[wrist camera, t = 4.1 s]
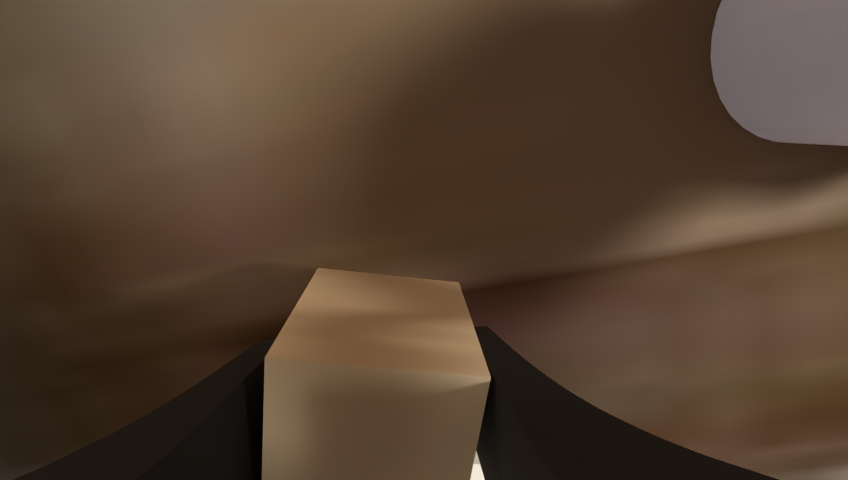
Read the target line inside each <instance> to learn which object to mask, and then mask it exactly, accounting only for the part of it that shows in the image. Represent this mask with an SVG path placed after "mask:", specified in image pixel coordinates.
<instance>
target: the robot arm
mask: <svg viewBox="0 0 848 480" xmlns="http://www.w3.org/2000/svg"><path fill="white" fill-rule="evenodd" d="M711 66H712V73H713V80H714V83H715V86H716V89H717V92H718V95H719V97H720V100H721V101H722V103H723V105H724V106H725V108H726V109H727V111H728V113H729V114H730V115H731V116H732V117H733V118H734V119H735V120H736V121H737V122H738V123H739V124H740V125H741V126H742V127H743V128H744V129H746V130H748V131H749V132H751V133H753V134H754V135H756V136H758V137H761V138H764V139H767V140H771V141H774V142H784V143H800V144H820V145H840V146H848V0H721V3H720V6H719V8H718V11H717V14H716V19H715V23H714V28H713V32H712V40H711ZM474 329H475V332H476V334H477V337H478V340H479V343H480V346H481V349H482V352H483V355H484V358H485V361H486V364H487V367H488V370H489V373H490V376H491V380H490V385H489V390H488V394H487V399H486V404H485V409H484V414H483V419H482V424H481V429H480V434H479V439H478V444H477V449H476V451H477V455H478V458H479V462H480V465H481V469H482V472H483V475H484V479H485V480H778V479H775V478H772V477H769V476H766V475H763V474H760V473H757V472H754V471H751V470H748V469H745V468H741V467H738V466H735V465H732V464H729V463H726V462H723V461H720V460H717V459H714V458H711V457H708V456H705V455H702V454H700V453H697V452H694V451H692V450H689V449H687V448H684V447H682V446H679V445H677V444H674V443H672V442H669V441H666V440H664V439H662V438H659V437H657V436H655V435H652V434H650V433H648V432H645V431H643V430H641V429H639V428H637V427H635V426H633V425H631V424H628V423H626V422H624V421H622V420H620V419H618V418H616V417H614V416H612V415H610V414H608V413H606V412H604V411H602V410H601V409H599V408H597V407H595V406H593V405H592V404H590V403H588V402H587V401H585V400H583V399H581V398H580V397H578V396H576V395H575V394H573V393H571V392H570V391H568V390H567V389H565V388H563V387H562V386H560V385H559V384H557V383H556V382H555V381H553V380H552V379H550V378H549V377H548V376H546V375H545V374H543V373H542V372H541V371H539V370H538V369H537V368H535V367H534V366H533V365H531V364H530V363H529V362H528V361H526V360H525V359H524V358H523V357H521V356H520V355H519V354H518V353H517V352H515V351H514V350H513V349H512V348H511V347H510V346H508V345H507V344H506V343H505V342H504V341H503V340H502V339H501V338H499V337H498V336H497V335H496V334H495V333H494V332H493V331H492V330H491V329H489V328H488V327H487V326H481V327H474ZM275 340H276V338H269V339H264V340H262V341H260V342H259V343H257V344H255V345H254V346H252V347H251V348H249V349H248V350H246V351H245V352H243V353H242V354H240V355H239V356H238V357H236V358H235V359H233V360H232V361H230V362H229V363H227V364H226V365H225V366H223V367H222V368H220V369H219V370H217V371H216V372H214V373H213V374H211V375H210V376H209V377H207V378H206V379H204V380H203V381H201V382H200V383H198V384H196V385H195V386H193V387H192V388H190V389H189V390H187V391H185V392H184V393H182V394H181V395H179V396H178V397H176V398H174V399H173V400H171V401H170V402H168V403H167V404H165V405H163V406H162V407H160V408H158V409H157V410H155V411H153V412H151V413H150V414H148V415H146V416H144V417H143V418H141V419H139V420H137V421H135V422H134V423H132V424H130V425H128V426H126V427H124V428H122V429H121V430H119V431H117V432H115V433H113V434H111V435H109V436H107V437H105V438H103V439H101V440H99V441H97V442H95V443H93V444H91V445H89V446H87V447H84V448H82V449H80V450H78V451H76V452H74V453H72V454H70V455H67V456H65V457H63V458H61V459H59V460H57V461H55V462H53V463H50V464H48V465H46V466H44V467H42V468H39V469H37V470H35V471H32V472H30V473H28V474H25V475H23V476H21V477H18V478H16V479H13V480H262V445H263V405H264V365H265V356H266V355H267V353H268V351H269V350H270V348H271V346H272V345H273V343H274V341H275Z"/></svg>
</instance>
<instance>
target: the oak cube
mask: <svg viewBox="0 0 848 480" xmlns="http://www.w3.org/2000/svg"><path fill="white" fill-rule="evenodd" d="M490 380H491V376H490V373H489V370H488V367H487V364H486V361H485V358H484V355H483V352H482V349H481V346H480V343H479V340H478V337H477V334H476V332H475V329H474V326H473V323H472V320H471V317H470V314H469V311H468V308H467V305H466V302H465V299H464V296H463V293H462V290H461V287H460V284H459V282H451V281H442V280H432V279H423V278H413V277H404V276H394V275H385V274H375V273H366V272H356V271H346V270H337V269H327V268H318V269H317V270H316V272H315V274H314V276H313V277H312V279H311V281H310V282H309V284H308V286H307V287H306V289H305V291H304V292H303V294H302V296H301V297H300V299H299V301H298V302H297V304H296V306H295V308H294V309H293V311H292V313H291V314H290V316H289V318H288V319H287V321H286V323H285V324H284V326H283V328H282V329H281V331H280V333H279V334H278V336H277V338H276V340H275V341H274V343H273V345H272V346H271V348H270V350H269V351H268V353H267V355H266V356H265V365H264V405H263V445H262V480H470V478H471V473H472V468H473V463H474V458H475V453H476V449H477V444H478V439H479V434H480V429H481V424H482V419H483V414H484V409H485V404H486V399H487V394H488V390H489V385H490Z"/></svg>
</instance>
